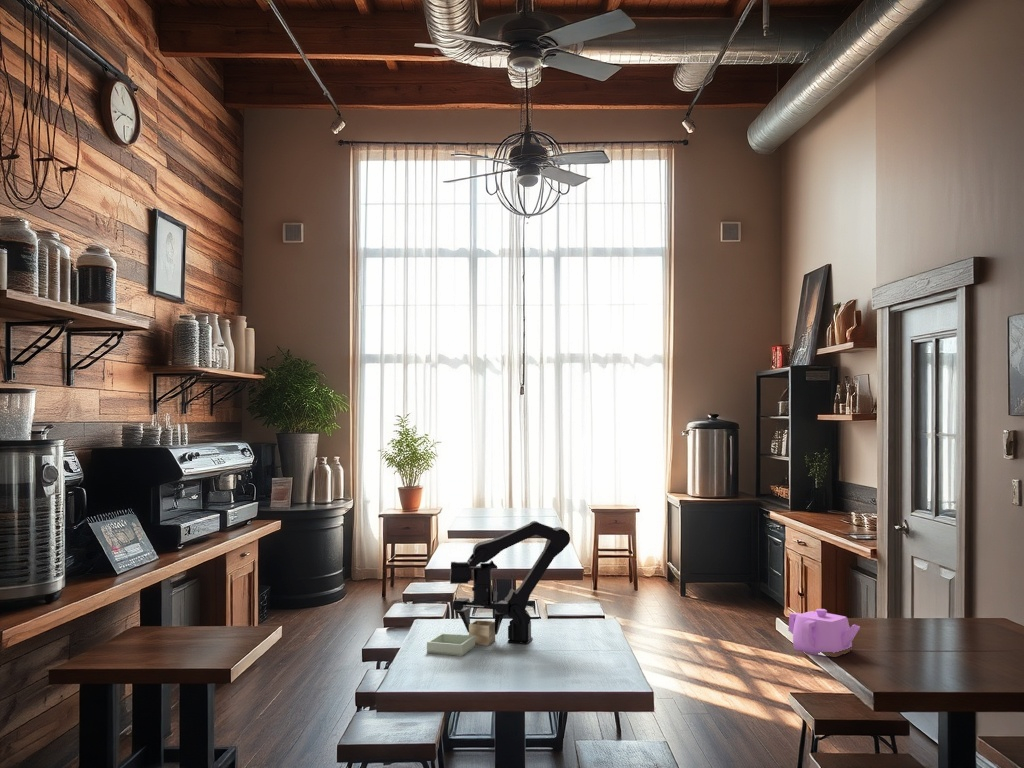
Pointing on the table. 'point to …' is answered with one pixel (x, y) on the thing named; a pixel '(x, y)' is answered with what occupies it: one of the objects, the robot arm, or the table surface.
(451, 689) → the table surface
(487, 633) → the small crate
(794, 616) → the teakettle
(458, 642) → the pale green square tray
